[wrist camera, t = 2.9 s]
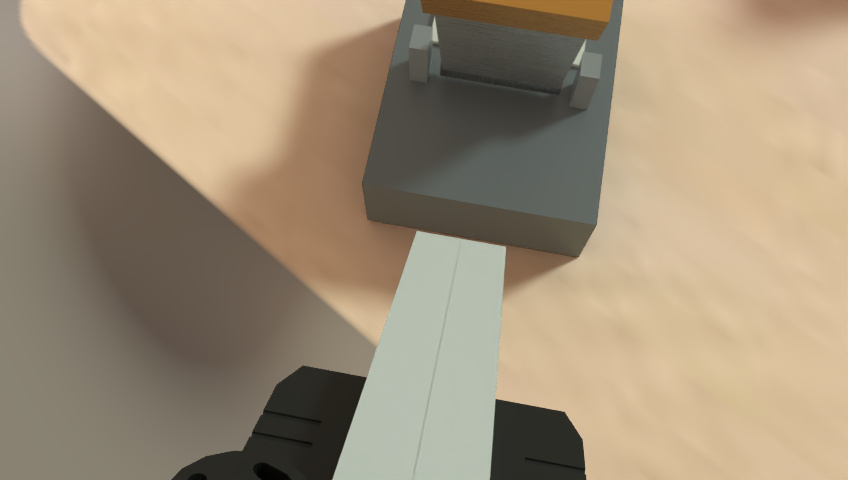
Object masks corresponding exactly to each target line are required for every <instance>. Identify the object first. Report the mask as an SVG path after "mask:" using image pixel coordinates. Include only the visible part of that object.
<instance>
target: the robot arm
mask: <svg viewBox="0 0 848 480" xmlns="http://www.w3.org/2000/svg"><path fill="white" fill-rule="evenodd" d="M505 257H506V247H505V246H499V245H494V244H488V243H482V242H477V241H471V240H465V239H460V238H454V237H448V236H443V235H437V234H431V233H426V232H420V231H417V232H416V235H415V238H414V241H413V244H412V247H411V249H410V252H409V255H408V258H407V261H406V264H405V267H404V270H403V273H402V276H401V279H400V282H399V285H398V288H397V291H396V294H395V297H394V300H393V302H392V305H391V308H390V311H389V314H388V317H387V320H386V323H385V326H384V329H383V332H382V335H381V338H380V341H379V344H378V347H377V350H376V353H375V356H374V359H373V362H372V364H371V367H370V370H369V373H368V377H367V378H366V377H361V376H355V375H350V374H345V373H340V372H334V371H329V370H324V369H318V368H313V367H307V366H302V367H301V368H299V369H298V370H296V371H295V372H294V373H292V374H291V375H289V376H288V377H287V378H285V379H284V380H282V381H281V382H280V383H278V384H277V385H276V387H275V389H274V391H273V393H272V395H271V397H270V399H269V401H268V403H267V405H266V406H265V408H264V411H263V415H261V416H260V418H259V420H258V422H257V424H256V426H255V428H254V429H253V432H252V436H251V437H249V439H248V441H247V443H246V445H245V447H244V449H243V451H231V452H225V453H220V454H215V455H211V456H206V457H204V458H202V459H200V460H198V461H196V462H194V463H192V464H190V465H188V466H186V467H184V468H182V469H181V470H180V471H179V472H178V473H177V474H176V476H175V477H174V478H173V479H172V480H586V474H585V461H584V450H583V440H582V438H581V437H580V435H579V434H578V432H577V430H576V429H575V427H574V426H573V424H572V423H571V421H570V420H569V418H568V417H567V415H566V414H565V412H562V411H556V410H551V409H546V408H540V407H535V406H530V405H524V404H519V403H514V402H508V401H503V400H498V399H496V385H497V371H498V357H499V342H500V328H501V314H502V300H503V285H504V271H505Z"/></svg>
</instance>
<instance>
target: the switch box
mask: <svg viewBox="0 0 848 480" xmlns="http://www.w3.org/2000/svg"><path fill="white" fill-rule="evenodd" d="M622 8H623V0H613V3H612V9H611V14H610V20H609V23H608V25H607V27H606V28H605V30H604V32H603V33H602V35H601V37H600V38H599V40H598V41H595V40H589V39H586V40H585V42H584V43H583V45H582V47H581V49H580V51H579V53H578V55H577V57H576V58H575V60H574V62H573V64H572V66H571V68H570V70H569V72H568V73H567V75H566V77H565V79H564V81H563V86H562V90H561V93H560V95H553V94H547V93H541V92H535V91H529V90H523V89H517V88H511V87H505V86H499V85H493V84H487V83H481V82H475V81H469V80H463V79H457V78H451V77H445V76H440V66H441V56H440V49H439V42H438V35H437V28H436V21H435V15H434V14H428V13H423V12H422V6H421V1H420V0H406V2H405V6H404V10H403V14H402V19H401V23H400V27H399V31H398V35H397V40H396V44H395V48H394V52H393V56H392V60H391V65H390V69H389V73H388V77H387V81H386V86H385V90H384V94H383V98H382V102H381V107H380V111H379V115H378V119H377V123H376V128H375V132H374V136H373V140H372V144H371V148H370V153H369V157H368V161H367V165H366V169H365V174H364V178H363V182H362V187H363V193H364V200H365V206H366V212H367V219H368V220H372V221H377V222H383V223H388V224H394V225H400V226H405V227H411V228H417V229H422V230H428V231H433V232H439V233H445V234H450V235H456V236H461V237H467V238H473V239H478V240H484V241H490V242H495V243H501V244H506V245H512V246H518V247H523V248H529V249H534V250H540V251H546V252H551V253H557V254H563V255H568V256H574V257H579V255H580V254H581V252H582V250H583V248H584V247H585V245H586V243H587V241H588V239H589V238H590V236H591V234H592V232H593V231H594V229H595V227H596V225H597V217H598V209H599V200H600V192H601V184H602V175H603V167H604V159H605V150H606V142H607V134H608V125H609V117H610V109H611V100H612V92H613V84H614V75H615V67H616V58H617V50H618V42H619V33H620V25H621V17H622Z"/></svg>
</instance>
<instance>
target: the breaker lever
mask: <svg viewBox="0 0 848 480" xmlns="http://www.w3.org/2000/svg"><path fill="white" fill-rule="evenodd" d="M420 1H421V6H422V12H423V13H428V14H434V15H435V21H436V28H437V35H438V42H439V49H440V56H441V66H440V76H445V77H451V78H457V79H463V80H469V81H475V82H481V83H487V84H493V85H499V86H505V87H511V88H517V89H523V90H529V91H535V92H541V93H547V94H553V95H560V93H561V90H562V86H563V81H564V79H565V77H566V75H567V73H568V72H569V70H570V68H571V66H572V64H573V62H574V60H575V58H576V57H577V55H578V53H579V51H580V49H581V47H582V45H583V43H584V42H585V40H586V39H589V40H595V41H598V40H599V38H600V37H601V35H602V33H603V32H604V30H605V28H606V27H607V25H608V23H609V20H610V14H611V9H612V3H613V0H420Z"/></svg>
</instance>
